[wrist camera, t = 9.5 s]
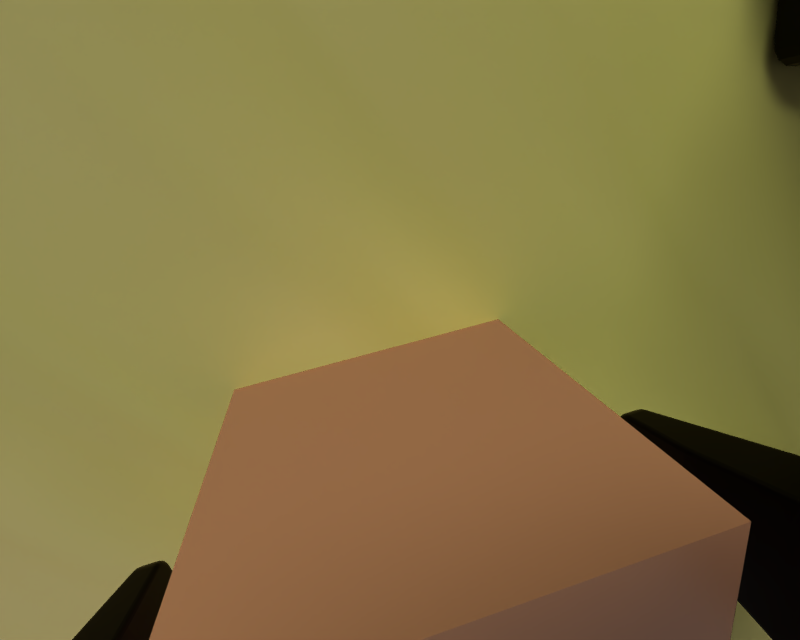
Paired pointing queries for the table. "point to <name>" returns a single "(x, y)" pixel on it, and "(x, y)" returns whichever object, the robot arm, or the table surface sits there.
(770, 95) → the table surface
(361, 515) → the terracotta block
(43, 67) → the table surface
